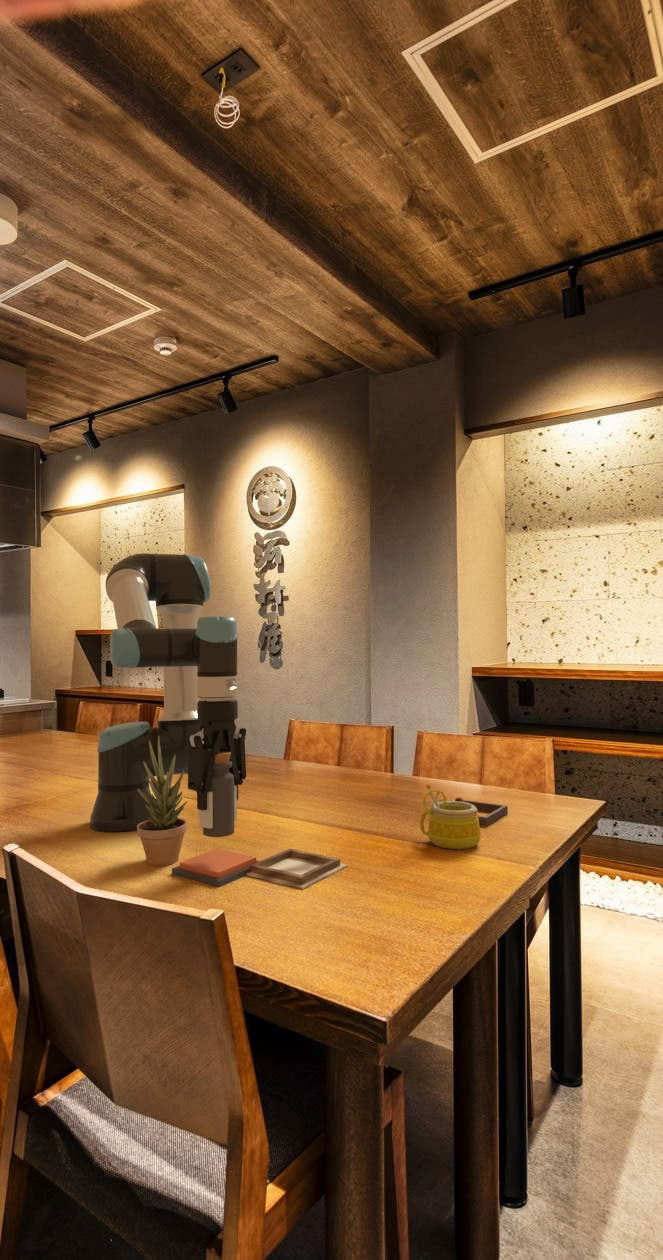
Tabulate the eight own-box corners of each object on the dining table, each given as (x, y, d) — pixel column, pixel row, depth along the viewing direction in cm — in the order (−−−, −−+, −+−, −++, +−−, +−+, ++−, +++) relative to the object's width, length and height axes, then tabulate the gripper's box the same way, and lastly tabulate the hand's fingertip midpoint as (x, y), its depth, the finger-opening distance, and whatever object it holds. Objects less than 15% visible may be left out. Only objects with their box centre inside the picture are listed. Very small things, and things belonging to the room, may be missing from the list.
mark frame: (242, 874, 124) (242, 865, 124) (289, 853, 136) (289, 846, 136) (303, 889, 117) (303, 880, 117) (347, 866, 128) (347, 858, 128)
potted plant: (134, 857, 135) (133, 733, 135) (182, 850, 139) (181, 730, 139) (141, 872, 126) (140, 739, 126) (192, 865, 129) (191, 736, 130)
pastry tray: (432, 818, 162) (432, 809, 162) (456, 806, 174) (455, 798, 174) (486, 826, 155) (486, 817, 155) (507, 813, 166) (507, 805, 166)
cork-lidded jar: (228, 838, 123) (227, 755, 123) (197, 836, 124) (197, 754, 124) (238, 829, 129) (238, 750, 129) (209, 828, 130) (209, 749, 130)
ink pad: (171, 873, 125) (171, 862, 125) (217, 856, 135) (217, 846, 135) (219, 886, 118) (219, 875, 118) (264, 867, 128) (263, 856, 128)
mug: (485, 840, 145) (485, 783, 145) (474, 855, 135) (473, 794, 135) (427, 833, 150) (427, 779, 150) (412, 847, 140) (411, 788, 140)
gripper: (195, 703, 117) (196, 838, 117) (265, 696, 133) (266, 815, 132) (165, 701, 121) (166, 831, 121) (236, 694, 137) (237, 810, 136)
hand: (218, 822), depth 126 cm, fingers closed on cork-lidded jar, 6 cm apart
